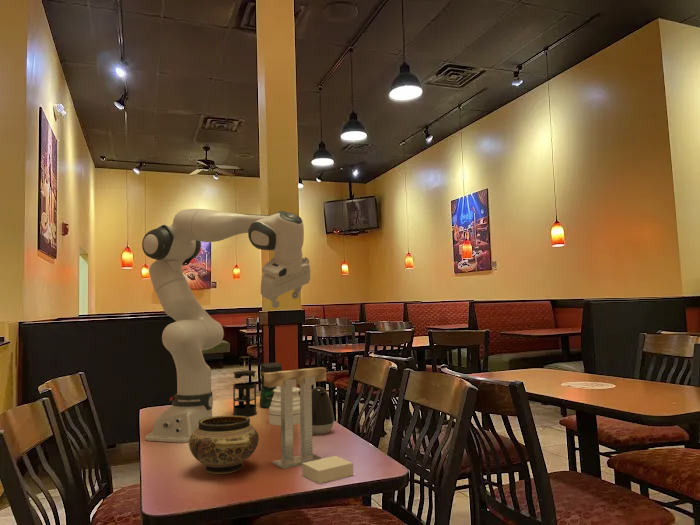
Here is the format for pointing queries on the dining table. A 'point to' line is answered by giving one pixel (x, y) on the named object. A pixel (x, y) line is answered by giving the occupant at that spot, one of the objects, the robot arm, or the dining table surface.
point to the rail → (293, 376)
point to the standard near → (287, 426)
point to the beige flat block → (327, 469)
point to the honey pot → (276, 407)
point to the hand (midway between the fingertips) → (285, 302)
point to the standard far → (306, 421)
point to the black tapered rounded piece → (321, 411)
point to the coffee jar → (265, 391)
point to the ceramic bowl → (223, 443)
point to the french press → (244, 408)
